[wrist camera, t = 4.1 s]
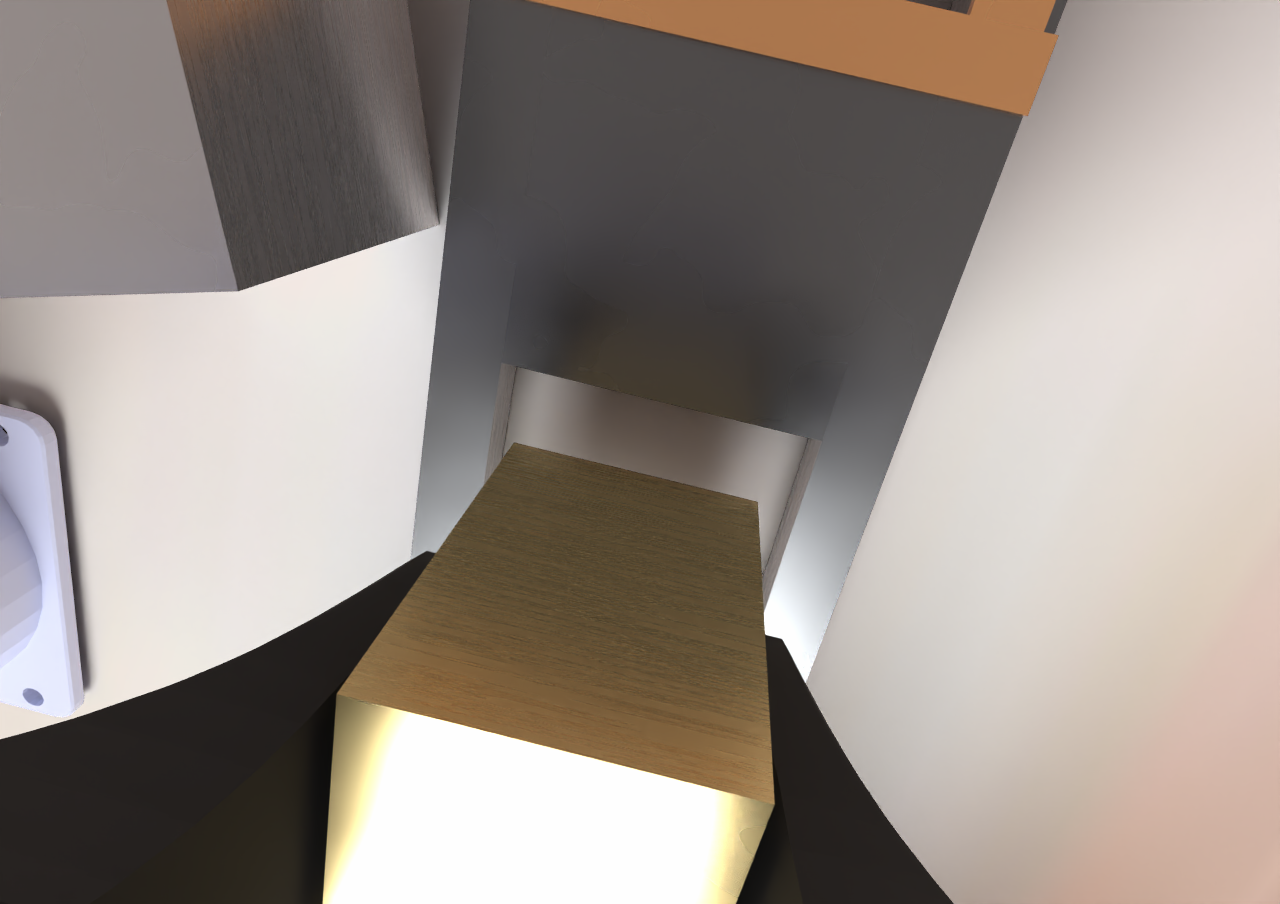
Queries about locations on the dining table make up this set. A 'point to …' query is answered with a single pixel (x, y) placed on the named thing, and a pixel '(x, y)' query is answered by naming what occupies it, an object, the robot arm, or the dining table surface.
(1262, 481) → the dining table surface
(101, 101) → the grey metallic block
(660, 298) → the grey slotted plate
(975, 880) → the dining table surface
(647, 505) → the tan square block
